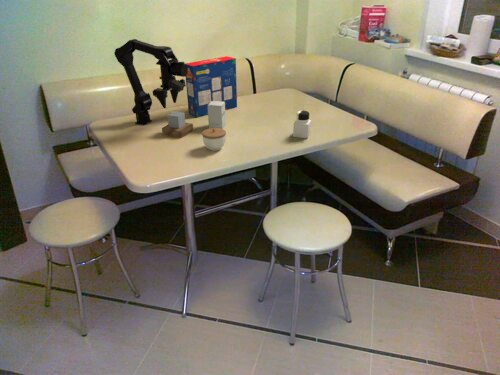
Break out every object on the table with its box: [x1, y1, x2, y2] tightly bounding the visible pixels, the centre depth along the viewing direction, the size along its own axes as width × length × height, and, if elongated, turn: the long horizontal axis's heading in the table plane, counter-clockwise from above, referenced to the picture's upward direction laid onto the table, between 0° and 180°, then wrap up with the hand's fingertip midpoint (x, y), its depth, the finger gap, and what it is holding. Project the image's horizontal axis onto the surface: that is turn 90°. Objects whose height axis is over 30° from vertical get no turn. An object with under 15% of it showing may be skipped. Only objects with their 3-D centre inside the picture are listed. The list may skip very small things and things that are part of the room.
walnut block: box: [161, 122, 194, 139], centre depth 206 cm, size 11×11×4 cm
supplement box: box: [207, 101, 226, 130], centre depth 210 cm, size 7×7×13 cm
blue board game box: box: [184, 55, 238, 119], centre depth 229 cm, size 28×8×28 cm, turn 129°
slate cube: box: [167, 111, 186, 128], centre depth 204 cm, size 6×6×6 cm
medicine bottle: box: [292, 110, 312, 139], centre depth 198 cm, size 7×7×12 cm
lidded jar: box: [201, 128, 227, 152], centre depth 187 cm, size 11×11×9 cm
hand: (169, 105), depth 207 cm, fingers open, 9 cm apart
